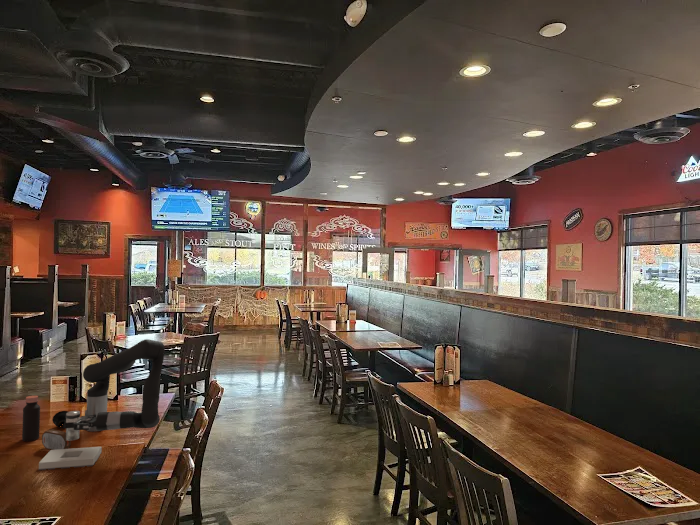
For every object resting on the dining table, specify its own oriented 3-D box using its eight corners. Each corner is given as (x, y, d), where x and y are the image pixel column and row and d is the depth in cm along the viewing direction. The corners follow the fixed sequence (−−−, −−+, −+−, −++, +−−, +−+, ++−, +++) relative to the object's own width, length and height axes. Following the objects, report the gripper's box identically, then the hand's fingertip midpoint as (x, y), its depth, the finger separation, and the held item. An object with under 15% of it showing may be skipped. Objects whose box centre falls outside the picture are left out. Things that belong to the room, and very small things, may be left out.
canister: (63, 438, 203) (64, 412, 204) (77, 435, 207) (78, 409, 207) (67, 441, 200) (67, 415, 200) (81, 438, 203) (82, 412, 204)
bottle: (42, 438, 229) (43, 396, 230) (27, 442, 223) (29, 399, 224) (33, 435, 232) (34, 394, 233) (18, 440, 226) (20, 397, 226)
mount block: (38, 470, 194) (38, 462, 194) (50, 456, 207) (50, 449, 208) (93, 466, 199) (93, 458, 199) (101, 453, 213) (101, 446, 213)
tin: (71, 451, 215) (71, 432, 215) (65, 453, 212) (65, 434, 212) (46, 446, 220) (47, 427, 220) (40, 448, 217) (40, 430, 217)
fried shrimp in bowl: (48, 422, 238) (49, 402, 253) (58, 438, 243) (59, 417, 257) (68, 414, 241) (68, 394, 256) (78, 429, 246) (77, 410, 261)
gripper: (113, 407, 214) (71, 409, 210) (106, 417, 200) (60, 419, 196) (113, 424, 214) (70, 427, 210) (105, 435, 200) (59, 438, 196)
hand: (65, 423), depth 203 cm, fingers closed on canister, 5 cm apart
